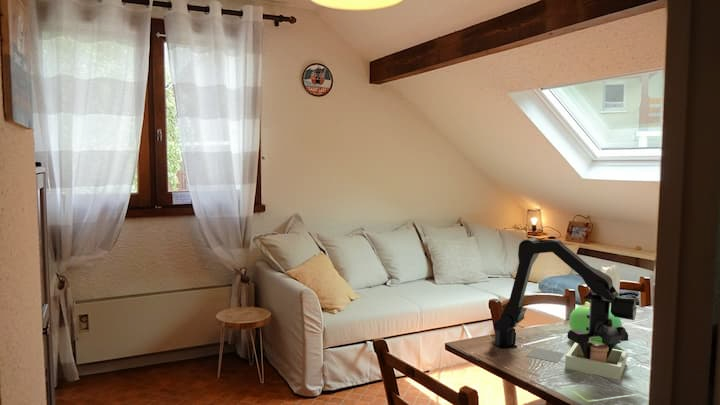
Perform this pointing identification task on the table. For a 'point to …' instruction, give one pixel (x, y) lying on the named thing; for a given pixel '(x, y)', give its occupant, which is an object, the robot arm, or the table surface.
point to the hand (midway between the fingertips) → (596, 360)
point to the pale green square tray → (596, 363)
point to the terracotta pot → (599, 351)
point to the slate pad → (545, 355)
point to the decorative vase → (612, 275)
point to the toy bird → (581, 321)
